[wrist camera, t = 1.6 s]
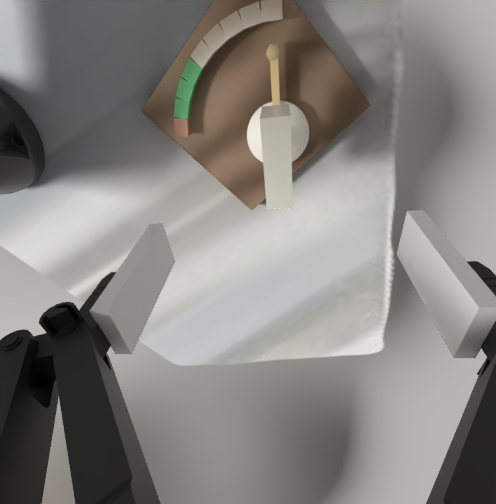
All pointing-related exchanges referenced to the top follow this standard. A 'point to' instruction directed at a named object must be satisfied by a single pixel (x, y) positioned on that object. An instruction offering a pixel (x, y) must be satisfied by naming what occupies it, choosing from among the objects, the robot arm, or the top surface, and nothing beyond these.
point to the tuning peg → (277, 139)
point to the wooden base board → (250, 89)
